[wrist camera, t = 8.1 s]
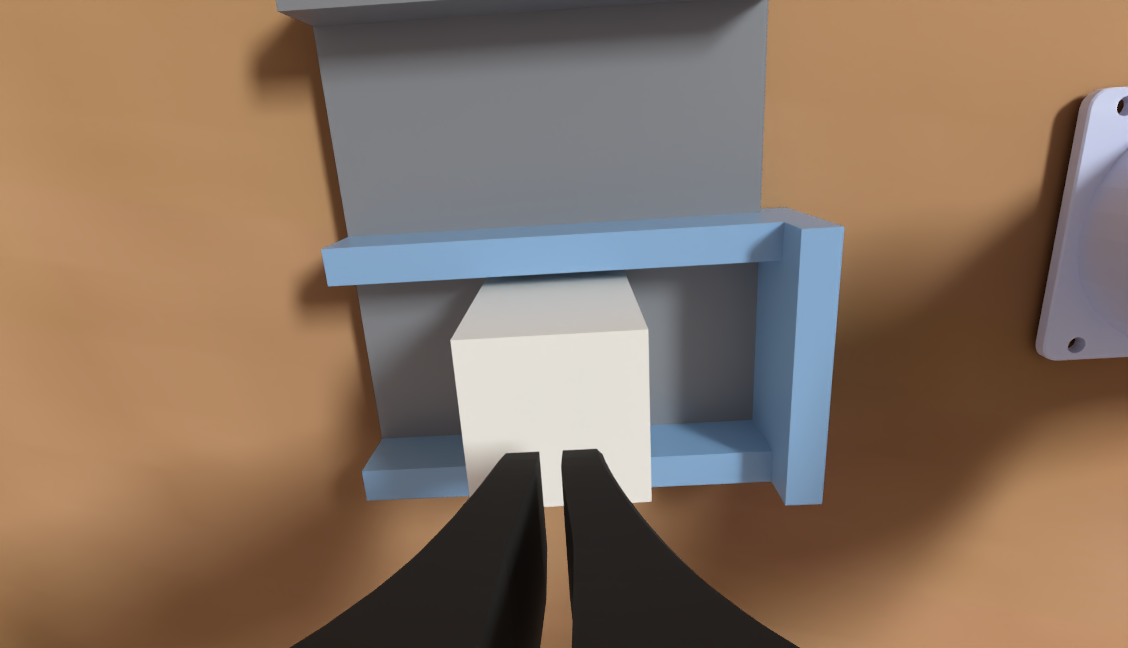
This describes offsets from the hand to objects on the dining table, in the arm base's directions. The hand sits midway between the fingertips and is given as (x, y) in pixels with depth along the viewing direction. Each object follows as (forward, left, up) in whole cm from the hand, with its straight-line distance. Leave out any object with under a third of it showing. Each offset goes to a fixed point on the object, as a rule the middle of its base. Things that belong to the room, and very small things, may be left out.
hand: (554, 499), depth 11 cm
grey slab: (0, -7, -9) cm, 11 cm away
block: (0, 0, -8) cm, 8 cm away
